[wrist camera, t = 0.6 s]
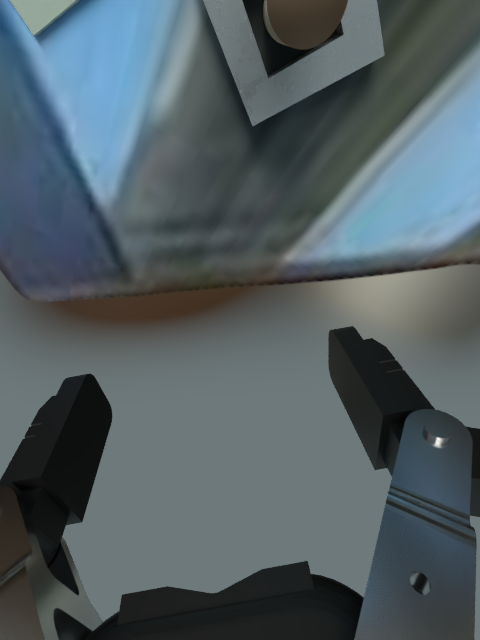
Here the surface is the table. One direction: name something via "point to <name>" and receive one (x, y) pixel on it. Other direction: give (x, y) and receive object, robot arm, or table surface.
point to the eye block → (302, 73)
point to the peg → (302, 21)
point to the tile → (41, 12)
